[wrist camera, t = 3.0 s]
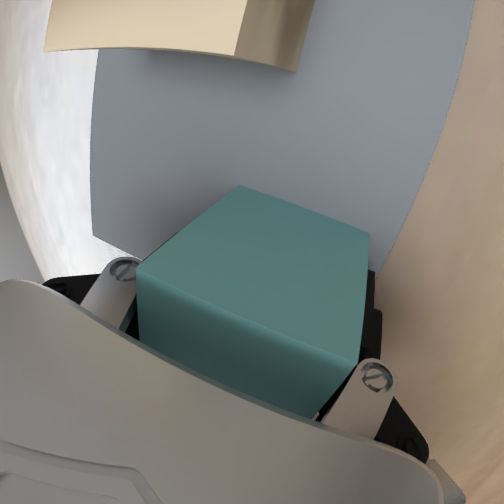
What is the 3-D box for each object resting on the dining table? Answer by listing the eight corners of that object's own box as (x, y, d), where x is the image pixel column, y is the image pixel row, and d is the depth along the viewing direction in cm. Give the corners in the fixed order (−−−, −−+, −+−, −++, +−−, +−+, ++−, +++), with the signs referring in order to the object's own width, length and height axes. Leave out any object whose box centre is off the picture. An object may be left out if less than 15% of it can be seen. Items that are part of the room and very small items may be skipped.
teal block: (322, 329, 13) (283, 448, 8) (218, 286, 14) (144, 383, 9) (369, 233, 10) (358, 362, 6) (239, 184, 11) (135, 267, 6)
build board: (341, 329, 14) (337, 343, 13) (104, 227, 17) (92, 235, 16) (473, -48, 4) (480, -57, 3) (150, -85, 7) (138, -91, 6)
